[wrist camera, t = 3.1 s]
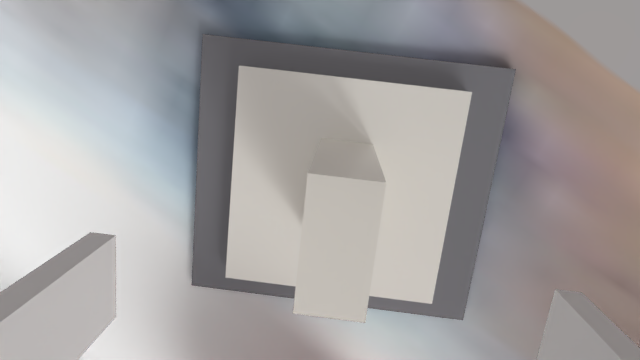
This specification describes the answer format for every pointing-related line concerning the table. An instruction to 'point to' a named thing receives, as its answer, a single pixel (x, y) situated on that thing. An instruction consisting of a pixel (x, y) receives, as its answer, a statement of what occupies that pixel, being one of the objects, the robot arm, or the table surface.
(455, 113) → the lid
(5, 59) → the table surface
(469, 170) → the mat
